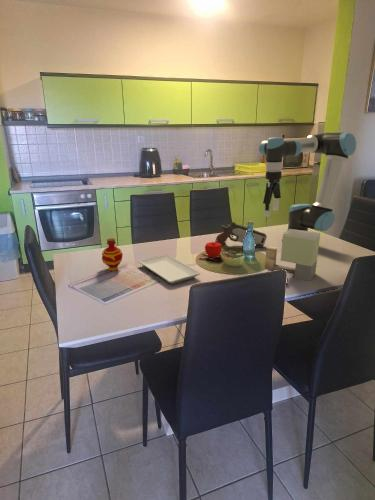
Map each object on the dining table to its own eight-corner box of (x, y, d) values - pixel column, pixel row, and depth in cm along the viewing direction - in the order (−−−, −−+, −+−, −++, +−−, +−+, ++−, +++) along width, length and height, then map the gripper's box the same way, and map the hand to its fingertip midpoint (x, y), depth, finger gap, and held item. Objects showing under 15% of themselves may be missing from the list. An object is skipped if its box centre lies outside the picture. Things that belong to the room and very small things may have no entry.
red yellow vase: (127, 266, 172) (125, 237, 167) (117, 273, 163) (114, 243, 158) (109, 263, 175) (107, 235, 170) (98, 271, 166) (95, 241, 161)
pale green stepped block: (284, 267, 169) (288, 228, 163) (315, 273, 162) (320, 233, 155) (277, 274, 161) (281, 233, 155) (309, 280, 154) (315, 238, 147)
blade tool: (267, 265, 173) (269, 246, 170) (297, 271, 165) (299, 251, 162) (264, 267, 170) (266, 248, 166) (295, 273, 162) (297, 253, 159)
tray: (169, 288, 148) (169, 281, 146) (138, 266, 173) (137, 260, 171) (201, 279, 156) (201, 272, 155) (166, 260, 181) (166, 253, 180)
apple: (202, 258, 182) (202, 244, 180) (208, 253, 190) (208, 240, 187) (218, 260, 179) (219, 246, 176) (223, 255, 187) (224, 241, 184)
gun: (258, 258, 201) (268, 234, 195) (214, 243, 203) (222, 219, 198) (258, 255, 205) (267, 232, 200) (215, 240, 208) (223, 217, 202)
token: (276, 279, 155) (277, 275, 155) (289, 282, 153) (289, 277, 152) (272, 284, 151) (273, 279, 150) (285, 287, 148) (285, 282, 147)
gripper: (273, 167, 178) (271, 207, 185) (257, 173, 158) (255, 218, 165) (288, 168, 174) (285, 209, 181) (273, 174, 154) (271, 220, 161)
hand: (271, 213), depth 173 cm, fingers open, 13 cm apart
